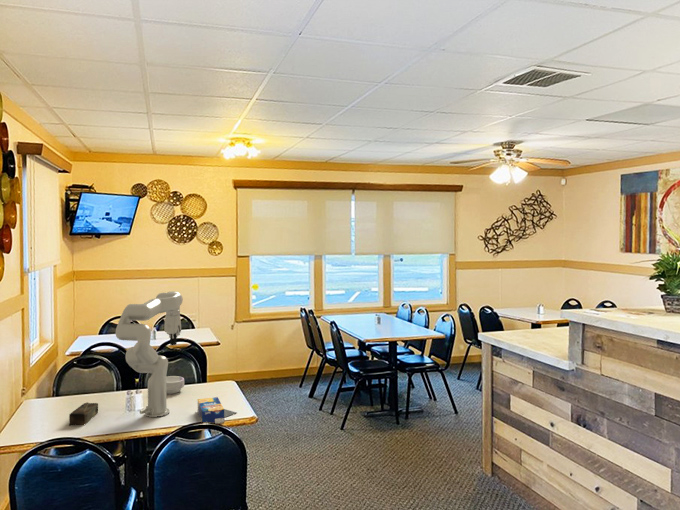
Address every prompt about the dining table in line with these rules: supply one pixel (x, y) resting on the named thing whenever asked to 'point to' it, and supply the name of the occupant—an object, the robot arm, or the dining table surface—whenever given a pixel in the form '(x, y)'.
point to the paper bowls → (174, 384)
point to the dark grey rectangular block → (83, 414)
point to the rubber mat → (228, 413)
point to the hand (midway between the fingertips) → (173, 344)
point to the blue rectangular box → (211, 410)
